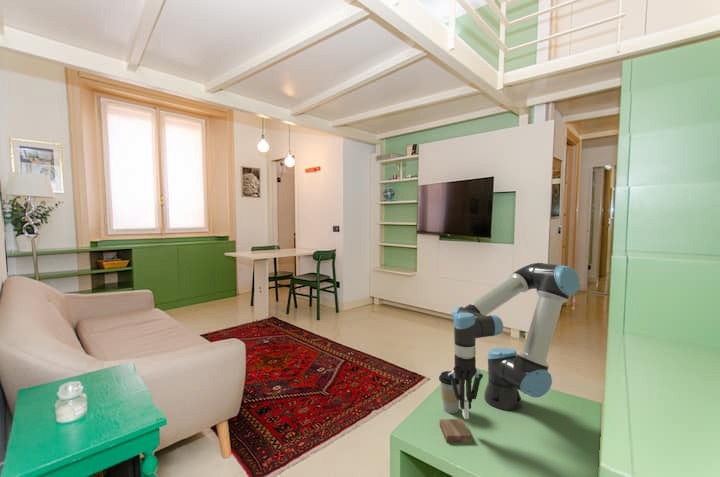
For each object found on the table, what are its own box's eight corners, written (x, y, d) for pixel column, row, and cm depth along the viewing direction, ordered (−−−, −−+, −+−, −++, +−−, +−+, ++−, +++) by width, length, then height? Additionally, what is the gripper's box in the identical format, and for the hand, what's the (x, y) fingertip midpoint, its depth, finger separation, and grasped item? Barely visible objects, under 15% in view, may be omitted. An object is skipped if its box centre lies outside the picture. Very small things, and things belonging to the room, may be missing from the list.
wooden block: (462, 419, 125) (439, 419, 125) (471, 435, 115) (446, 435, 115) (462, 426, 125) (439, 426, 125) (471, 443, 115) (446, 443, 115)
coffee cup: (459, 418, 130) (459, 382, 130) (436, 412, 135) (436, 377, 134) (464, 407, 138) (463, 372, 138) (442, 401, 143) (442, 368, 142)
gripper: (478, 350, 124) (478, 410, 124) (444, 351, 123) (445, 411, 124) (486, 358, 116) (486, 422, 117) (450, 359, 116) (451, 423, 117)
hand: (465, 416), depth 120 cm, fingers closed
